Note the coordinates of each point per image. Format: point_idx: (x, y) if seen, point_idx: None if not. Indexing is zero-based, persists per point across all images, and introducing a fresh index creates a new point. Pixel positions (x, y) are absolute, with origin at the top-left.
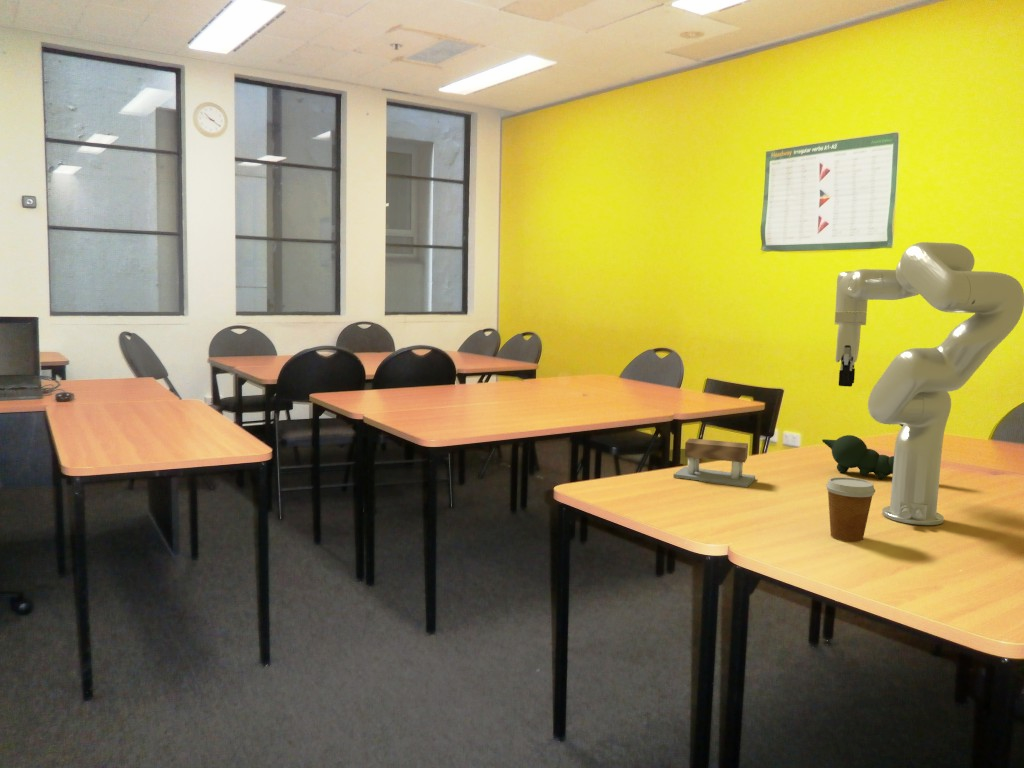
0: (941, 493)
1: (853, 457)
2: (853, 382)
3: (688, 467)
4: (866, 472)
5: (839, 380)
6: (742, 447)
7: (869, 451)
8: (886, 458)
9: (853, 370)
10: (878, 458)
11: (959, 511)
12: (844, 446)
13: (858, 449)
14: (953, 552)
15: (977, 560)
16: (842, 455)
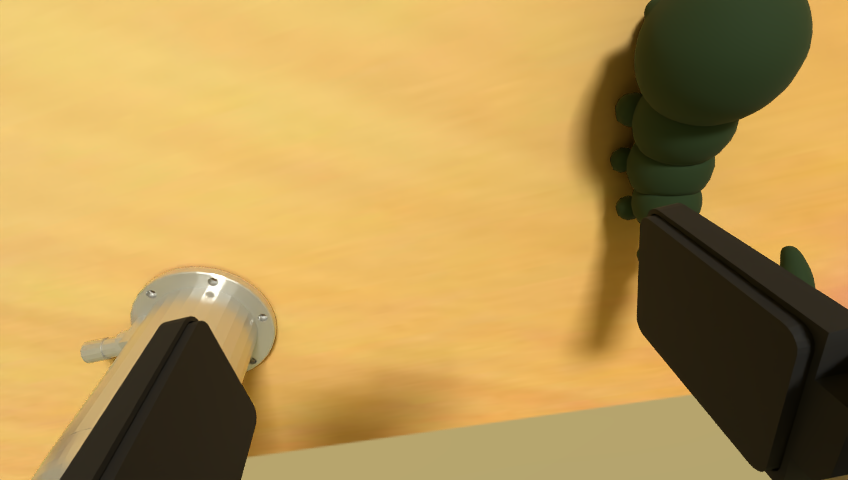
0: (525, 310)
1: (640, 83)
2: (647, 328)
3: None
4: (618, 120)
5: (140, 370)
6: None
7: (686, 138)
8: (665, 190)
9: (747, 450)
10: (664, 165)
11: (365, 369)
12: (672, 46)
13: (668, 105)
14: (20, 421)
15: (15, 451)
16: (645, 37)
